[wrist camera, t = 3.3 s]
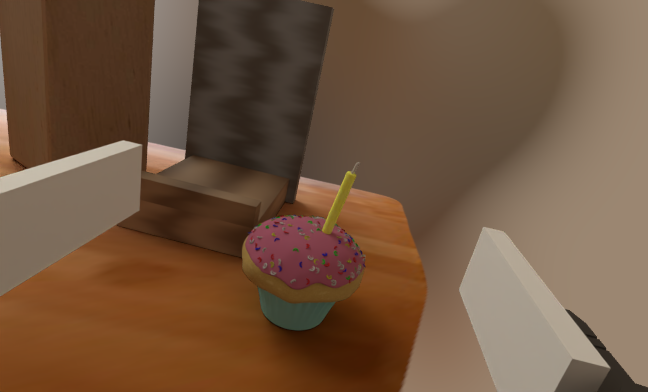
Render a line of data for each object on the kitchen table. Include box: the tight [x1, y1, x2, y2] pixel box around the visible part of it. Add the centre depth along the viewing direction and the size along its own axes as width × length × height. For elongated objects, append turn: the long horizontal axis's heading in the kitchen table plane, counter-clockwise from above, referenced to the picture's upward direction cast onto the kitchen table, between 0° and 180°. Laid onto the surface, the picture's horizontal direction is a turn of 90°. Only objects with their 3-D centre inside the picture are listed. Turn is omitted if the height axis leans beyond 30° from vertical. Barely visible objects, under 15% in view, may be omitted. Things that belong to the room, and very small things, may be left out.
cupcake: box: [242, 162, 365, 330], centre depth 26 cm, size 9×8×12 cm
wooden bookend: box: [117, 0, 334, 258], centre depth 37 cm, size 14×16×22 cm
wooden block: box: [0, 0, 155, 172], centre depth 40 cm, size 10×10×20 cm
